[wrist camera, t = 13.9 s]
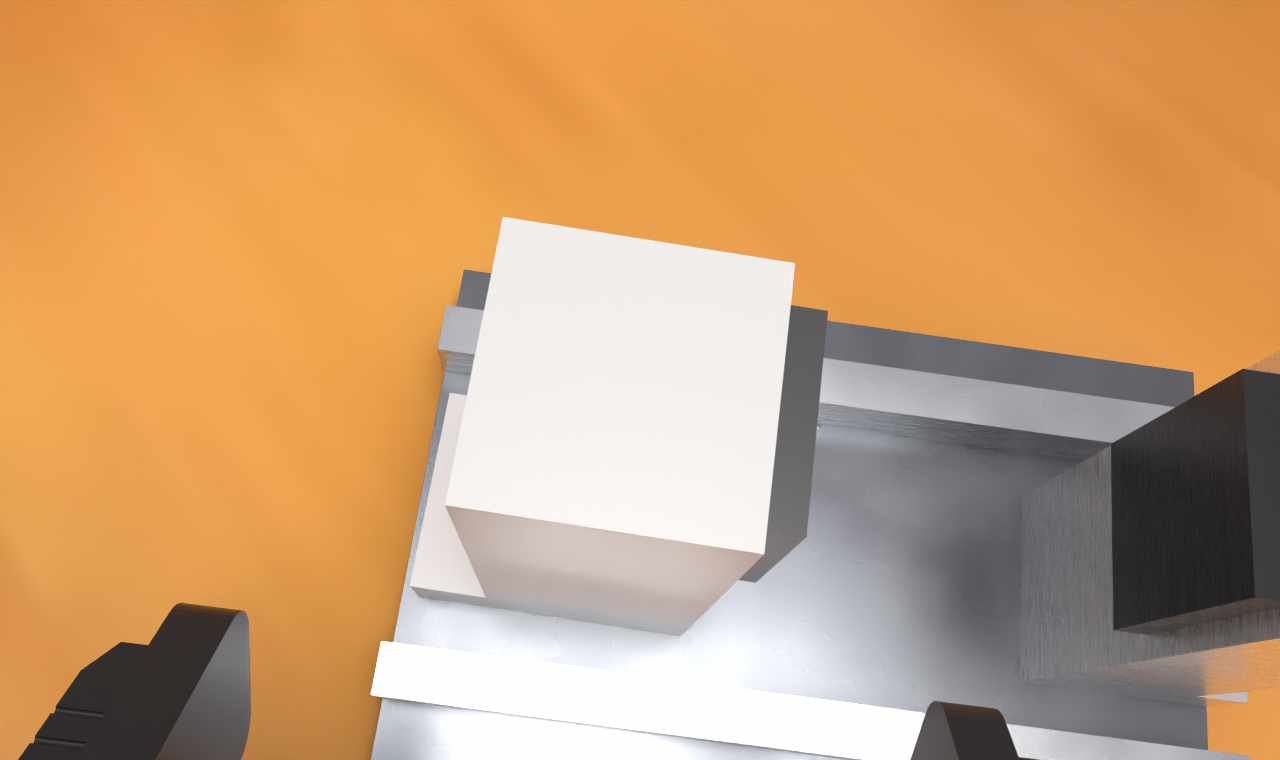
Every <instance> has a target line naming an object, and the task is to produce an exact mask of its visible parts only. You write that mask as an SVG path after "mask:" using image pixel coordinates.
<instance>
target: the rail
mask: <svg viewBox="0 0 1280 760" xmlns="http://www.w3.org/2000/svg"><path fill="white" fill-rule="evenodd" d="M490 278H491V273H484V272H477V271H470V270H464V272H463V277H462V283H461V288H460V293H459V298H458V304H457V307H456V306H449V305H446V308H445V314H444V319H443V324H442V329H441V334H440V339H439V345H438V352H439V356H440V359H441V362H442V366H443V369H444V377H443V383H442V388H441V393H440V399H439V404H438V409H437V414H436V420H435V425H434V430H433V435H432V441H431V446H430V451H429V456H428V462H427V467H426V472H425V478H424V483H423V488H422V493H421V499H420V504H419V509H418V514H417V520H416V525H415V530H414V535H413V541H412V546H411V551H410V557H409V562H408V567H407V572H406V578H405V583H404V588H403V593H402V599H401V604H400V609H399V614H398V620H397V625H396V630H395V636H394V641H393V643H391V642H384V641H381V645H380V650H379V655H378V660H377V665H376V670H375V676H374V681H373V686H372V691H371V695H372V696H375V697H378V698H381V699H382V704H381V709H380V715H379V720H378V725H377V730H376V736H375V741H374V746H373V751H372V757H371V760H910V759H911V756H912V753H913V750H914V747H915V744H916V741H917V738H918V735H919V732H920V729H921V725H922V722H923V719H924V716H925V714H926V711H927V709H928V707H929V705H930V704H931V703H932V702H934V701H940V702H948V703H956V704H964V705H972V706H980V707H988V708H995V709H998V710H999V711H1000V712H1001V713H1002V715H1003V717H1004V719H1005V721H1006V724H1007V727H1008V730H1009V732H1010V735H1011V738H1012V740H1013V743H1014V746H1015V749H1016V751H1017V754H1018V757H1023V758H1031V759H1039V760H1250V756H1247V755H1239V754H1232V753H1224V752H1216V751H1209V750H1208V739H1207V713H1206V706H1217V705H1229V704H1242V703H1247V692H1249V691H1259V690H1270V689H1280V350H1279V351H1277V352H1275V353H1274V354H1272V355H1270V356H1268V357H1267V358H1265V359H1263V360H1261V361H1259V362H1258V363H1256V364H1254V365H1252V366H1251V367H1249V368H1247V369H1242V370H1240V371H1238V372H1236V373H1235V374H1233V375H1231V376H1229V377H1228V378H1226V379H1224V380H1222V381H1221V382H1219V383H1217V384H1215V385H1214V386H1212V387H1210V388H1208V389H1207V390H1205V391H1203V392H1201V393H1200V394H1198V395H1196V396H1194V376H1193V372H1187V371H1180V370H1173V369H1166V368H1159V367H1151V366H1144V365H1137V364H1130V363H1123V362H1116V361H1109V360H1102V359H1095V358H1088V357H1080V356H1073V355H1066V354H1059V353H1052V352H1045V351H1038V350H1031V349H1024V348H1017V347H1009V346H1002V345H995V344H988V343H981V342H974V341H967V340H960V339H953V338H946V337H938V336H931V335H924V334H917V333H910V332H903V331H896V330H889V329H882V328H875V327H867V326H860V325H853V324H846V323H839V322H832V321H827V326H826V337H825V347H824V358H823V368H822V379H821V390H820V400H819V411H818V421H817V432H816V443H815V453H814V464H813V475H812V485H811V496H810V506H809V517H808V528H807V538H805V539H804V540H803V541H802V542H801V543H800V544H799V545H798V546H796V547H795V548H794V549H793V550H792V551H791V552H790V553H789V554H787V555H786V556H785V557H784V558H783V559H782V560H781V561H780V562H778V563H777V564H776V565H775V566H774V567H773V568H772V569H771V570H769V571H768V572H767V573H766V574H765V575H764V576H763V577H762V578H760V579H759V580H758V581H757V582H756V583H753V582H747V581H740V580H738V581H737V582H736V583H735V584H734V585H733V586H732V587H731V588H730V589H729V590H728V591H727V592H726V593H725V594H724V595H723V596H722V597H721V598H720V599H719V600H718V601H717V602H716V603H715V604H714V605H713V606H712V607H711V608H710V609H709V610H708V611H706V612H705V613H704V614H703V615H702V616H701V617H700V618H699V619H698V620H697V621H696V622H695V623H694V624H693V625H692V626H691V627H690V628H689V629H688V630H687V631H686V632H685V633H684V634H683V635H682V636H675V635H668V634H662V633H655V632H648V631H642V630H635V629H629V628H622V627H616V626H609V625H602V624H596V623H589V622H583V621H576V620H570V619H563V618H556V617H550V616H543V615H537V614H530V613H524V612H517V611H510V610H504V609H497V608H491V607H484V606H478V605H471V604H464V603H458V602H451V601H445V600H438V599H432V598H425V597H419V596H418V595H417V594H416V593H415V592H414V590H413V589H412V588H411V587H410V582H411V577H412V573H413V568H414V563H415V558H416V553H417V548H418V544H419V539H420V534H421V529H422V524H423V519H424V515H425V510H426V505H427V500H428V495H429V490H430V486H431V481H432V476H433V471H434V466H435V462H436V457H437V452H438V447H439V442H440V437H441V433H442V428H443V423H444V418H445V413H446V408H447V404H448V399H449V394H450V393H455V394H462V395H467V392H468V387H469V383H470V378H471V373H472V368H473V363H474V358H475V353H476V348H477V343H478V338H479V333H480V328H481V323H482V318H483V313H484V308H485V303H486V298H487V293H488V288H489V283H490Z"/></svg>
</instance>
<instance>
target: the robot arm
mask: <svg viewBox="0 0 1280 760" xmlns="http://www.w3.org/2000/svg"><path fill="white" fill-rule="evenodd" d="M250 714H251V700H250V653H249V622H248V617H247V614H246V613H245V612H244V611H241V610H233V609H225V608H217V607H209V606H201V605H193V604H186V603H179V604H177V605H175V606H174V607H173V608H172V610H171V611H170V613H169V614H168V616H167V617H166V619H165V620H164V622H163V623H162V625H161V627H160V628H159V630H158V631H157V633H156V634H155V636H154V637H153V639H152V641H151V642H150V644H149V645H141V644H133V643H125V642H120V643H119V644H118V645H116V646H115V647H113V648H112V649H111V650H109V651H108V652H106V653H105V654H104V655H102V656H101V657H99V658H98V659H97V660H95V661H94V662H92V663H91V664H89V665H88V666H87V667H85V668H84V669H82V670H81V671H80V673H79V674H78V675H77V677H76V678H75V680H74V681H73V683H72V684H71V685H70V687H69V688H68V690H67V691H66V693H65V694H64V695H63V697H62V698H61V700H60V701H59V703H58V704H57V705H56V710H55V712H54V714H52V713H51V714H50V715H49V717H48V718H47V720H46V721H45V722H44V724H43V725H42V727H41V728H40V730H39V731H38V732H37V734H36V735H35V741H34V743H30V744H29V745H28V747H27V748H26V750H25V751H24V752H23V754H22V755H21V757H20V758H19V760H241V758H242V755H243V752H244V749H245V745H246V741H247V736H248V731H249V724H250ZM910 760H1039V759H1031V758H1023V757H1018V754H1017V751H1016V749H1015V746H1014V743H1013V740H1012V738H1011V735H1010V732H1009V730H1008V727H1007V724H1006V721H1005V719H1004V717H1003V715H1002V713H1001V712H1000V711H999V710H998V709H995V708H988V707H980V706H972V705H964V704H956V703H948V702H940V701H934V702H932V703H931V704H930V705H929V707H928V709H927V711H926V714H925V716H924V719H923V722H922V725H921V729H920V732H919V735H918V738H917V741H916V744H915V747H914V750H913V753H912V756H911V759H910Z"/></svg>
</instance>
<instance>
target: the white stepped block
mask: <svg viewBox="0 0 1280 760" xmlns="http://www.w3.org/2000/svg"><path fill="white" fill-rule="evenodd" d="M794 270H795V263H790V262H784V261H778V260H771V259H765V258H759V257H752V256H746V255H740V254H734V253H727V252H721V251H715V250H708V249H702V248H696V247H690V246H683V245H677V244H671V243H664V242H658V241H652V240H646V239H639V238H633V237H627V236H620V235H614V234H608V233H602V232H595V231H589V230H583V229H576V228H570V227H564V226H558V225H551V224H545V223H539V222H532V221H526V220H520V219H514V218H507V217H503V219H502V224H501V229H500V234H499V239H498V244H497V249H496V254H495V259H494V263H493V268H492V273H491V278H490V283H489V288H488V293H487V298H486V303H485V308H484V313H483V318H482V323H481V328H480V333H479V338H478V343H477V348H476V353H475V358H474V363H473V368H472V373H471V378H470V383H469V387H468V392H467V395H462V394H455V393H450V394H449V399H448V404H447V408H446V413H445V418H444V423H443V428H442V433H441V437H440V442H439V447H438V452H437V457H436V462H435V466H434V471H433V476H432V481H431V486H430V490H429V495H428V500H427V505H426V510H425V515H424V519H423V524H422V529H421V534H420V539H419V544H418V548H417V553H416V558H415V563H414V568H413V573H412V577H411V582H410V587H411V588H412V589H413V590H414V592H415V593H416V594H417V595H418V596H419V597H425V598H432V599H438V600H445V601H451V602H458V603H464V604H471V605H478V606H484V607H491V608H497V609H504V610H510V611H517V612H524V613H530V614H537V615H543V616H550V617H556V618H563V619H570V620H576V621H583V622H589V623H596V624H602V625H609V626H616V627H622V628H629V629H635V630H642V631H648V632H655V633H662V634H668V635H675V636H682V635H683V634H684V633H685V632H686V631H687V630H688V629H689V628H690V627H691V626H692V625H693V624H694V623H695V622H696V621H697V620H698V619H699V618H700V617H701V616H702V615H703V614H704V613H705V612H706V611H708V610H709V609H710V608H711V607H712V606H713V605H714V604H715V603H716V602H717V601H718V600H719V599H720V598H721V597H722V596H723V595H724V594H725V593H726V592H727V591H728V590H729V589H730V588H731V587H732V586H733V585H734V584H735V583H736V582H737V581H738V580H740V581H747V582H753V583H756V582H757V581H758V580H759V579H760V578H762V577H763V576H764V575H765V574H766V573H767V572H768V571H769V570H771V569H772V568H773V567H774V566H775V565H776V564H777V563H778V562H780V561H781V560H782V559H783V558H784V557H785V556H786V555H787V554H789V553H790V552H791V551H792V550H793V549H794V548H795V547H796V546H798V545H799V544H800V543H801V542H802V541H803V540H804V539H805V538H807V528H808V517H809V506H810V496H811V485H812V475H813V464H814V453H815V443H816V432H817V421H818V411H819V400H820V390H821V379H822V368H823V358H824V347H825V337H826V326H827V315H828V311H824V310H818V309H812V308H805V307H799V306H793V305H791V298H792V289H793V279H794Z"/></svg>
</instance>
